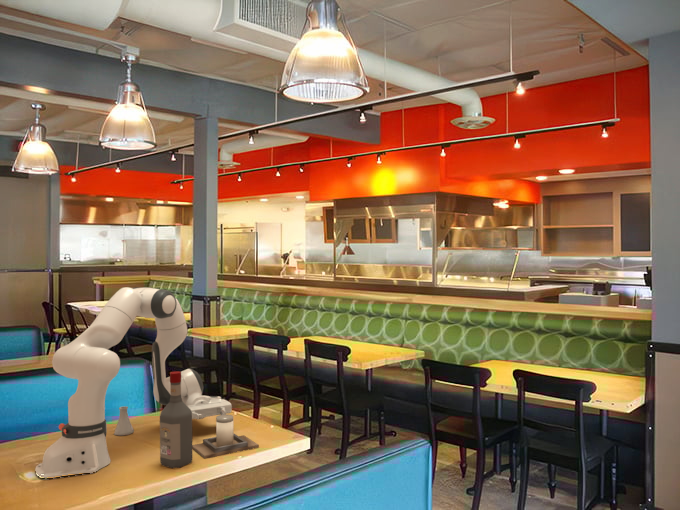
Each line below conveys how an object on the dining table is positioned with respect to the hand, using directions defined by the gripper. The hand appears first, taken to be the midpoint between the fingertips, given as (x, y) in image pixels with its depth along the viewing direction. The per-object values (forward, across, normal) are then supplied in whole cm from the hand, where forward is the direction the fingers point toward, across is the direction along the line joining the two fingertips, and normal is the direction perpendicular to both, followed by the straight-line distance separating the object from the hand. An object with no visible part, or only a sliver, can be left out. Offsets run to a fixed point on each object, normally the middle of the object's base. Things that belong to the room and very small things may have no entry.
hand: (211, 415), depth 224 cm
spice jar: (+12, 0, +8) cm, 14 cm away
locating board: (+12, 0, +9) cm, 15 cm away
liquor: (+17, -19, +9) cm, 27 cm away
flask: (-26, -26, +9) cm, 38 cm away
